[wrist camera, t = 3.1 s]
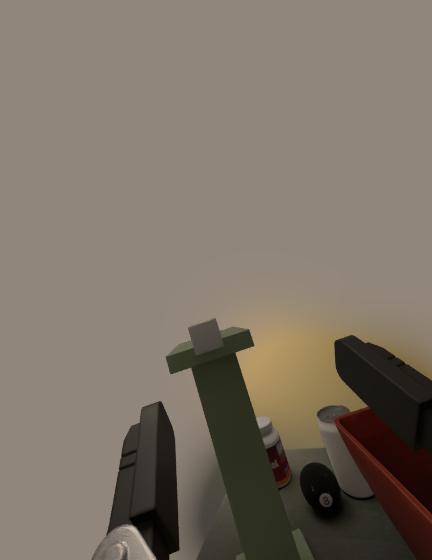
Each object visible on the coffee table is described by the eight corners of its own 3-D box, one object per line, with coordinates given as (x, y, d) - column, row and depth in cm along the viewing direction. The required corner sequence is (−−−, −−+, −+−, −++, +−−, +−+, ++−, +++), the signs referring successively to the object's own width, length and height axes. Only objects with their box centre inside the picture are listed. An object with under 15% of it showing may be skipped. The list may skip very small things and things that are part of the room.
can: (387, 480, 39) (359, 407, 41) (369, 507, 36) (339, 426, 37) (350, 465, 44) (327, 401, 46) (331, 488, 41) (307, 417, 43)
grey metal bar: (231, 344, 19) (222, 315, 19) (188, 358, 19) (180, 329, 19) (217, 333, 37) (212, 318, 37) (195, 340, 36) (191, 325, 37)
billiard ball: (336, 487, 41) (323, 451, 42) (353, 517, 35) (338, 474, 36) (303, 496, 41) (291, 460, 42) (314, 527, 35) (300, 484, 36)
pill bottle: (258, 489, 46) (240, 431, 48) (267, 466, 51) (251, 415, 53) (288, 492, 43) (268, 430, 45) (295, 468, 48) (277, 413, 50)
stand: (356, 653, 22) (249, 329, 27) (259, 704, 21) (165, 356, 26) (297, 527, 36) (233, 326, 41) (236, 553, 35) (178, 344, 40)
